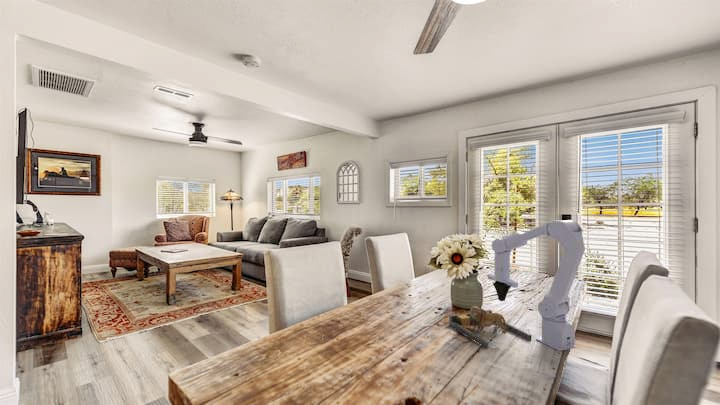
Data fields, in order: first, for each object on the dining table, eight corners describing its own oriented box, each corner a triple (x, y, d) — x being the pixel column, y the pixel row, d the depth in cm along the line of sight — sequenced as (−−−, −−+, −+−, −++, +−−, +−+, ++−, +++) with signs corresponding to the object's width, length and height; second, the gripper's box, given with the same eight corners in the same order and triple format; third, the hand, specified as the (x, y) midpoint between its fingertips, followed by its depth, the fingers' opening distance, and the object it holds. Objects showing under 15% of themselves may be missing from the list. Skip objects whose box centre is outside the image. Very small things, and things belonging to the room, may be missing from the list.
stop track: (531, 340, 110) (531, 329, 110) (485, 348, 104) (485, 336, 104) (489, 319, 130) (489, 309, 130) (448, 325, 123) (448, 315, 123)
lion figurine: (471, 331, 118) (471, 308, 118) (468, 325, 123) (468, 303, 123) (511, 333, 116) (511, 310, 116) (506, 328, 121) (506, 305, 121)
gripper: (524, 270, 120) (523, 305, 120) (496, 263, 134) (496, 294, 134) (510, 271, 118) (509, 306, 118) (483, 264, 132) (483, 295, 132)
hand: (501, 300), depth 126 cm, fingers closed
